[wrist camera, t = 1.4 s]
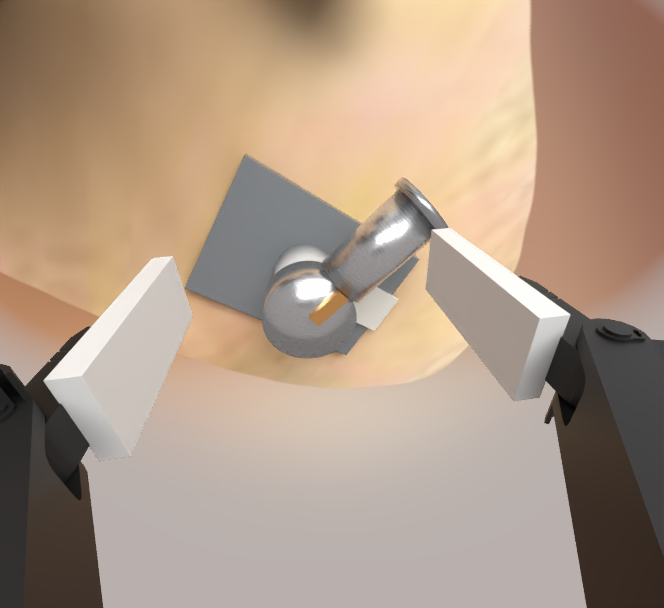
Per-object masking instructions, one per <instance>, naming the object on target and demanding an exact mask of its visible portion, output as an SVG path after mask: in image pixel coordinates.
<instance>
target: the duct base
mask: <svg viewBox="0 0 664 608" xmlns="http://www.w3.org/2000/svg"><path fill="white" fill-rule="evenodd" d="M360 225H361V223H360V222H358V221H356V220H355V219H353V218H351V217H350V216H348V215H346V214H345V213H343V212H341V211H340V210H338V209H336V208H335V207H333V206H331V205H330V204H328V203H326V202H325V201H323V200H321V199H320V198H318V197H316V196H315V195H313V194H311V193H310V192H308V191H306V190H305V189H303V188H301V187H300V186H298V185H296V184H295V183H293V182H291V181H290V180H288V179H286V178H285V177H283V176H281V175H280V174H278V173H276V172H275V171H273V170H271V169H270V168H268V167H266V166H265V165H263V164H261V163H260V162H258V161H256V160H255V159H253V158H251V157H250V156H248V155H245V156H244V158H243V160H242V162H241V165H240V167H239V169H238V171H237V173H236V176H235V178H234V180H233V182H232V185H231V187H230V189H229V191H228V193H227V196H226V198H225V200H224V202H223V205H222V207H221V209H220V211H219V213H218V216H217V218H216V220H215V222H214V225H213V227H212V229H211V231H210V233H209V236H208V238H207V240H206V242H205V245H204V247H203V249H202V251H201V253H200V256H199V258H198V260H197V262H196V265H195V267H194V269H193V271H192V273H191V276H190V278H189V280H188V282H187V285H186V287H185V288H186V289H188V290H191V291H193V292H195V293H198V294H200V295H203V296H205V297H207V298H210V299H212V300H215V301H217V302H219V303H222V304H224V305H227V306H229V307H231V308H234V309H236V310H239V311H241V312H244V313H246V314H248V315H251V316H253V317H256V318H258V319H260V320H263V310H264V301H265V293H266V289H267V286H268V284H269V282H270V280H271V279H272V277H273V276H274V275H275V274H276V273H277V272H278V271H279V270H280V269H282V268H284V267H285V266H287V265H289V264H292V263H295V262H299V261H307V260H308V261H318V262H322V261H323V260H324V259H325V258H326V257H327V256H328V255H329V254H330V253H331V252H332V251H334V250H335V249H336V248H337V247H338V246H339V245H340V244H341V243H342V242H343V241H344V240H345V239H346V238H347V237H348V236H350V235H351V234H352V233H353V232H354V231H355V230H356V229H357V228H358V227H359V226H360ZM418 260H419V259H418V258H417V257H416V256H415V255H413V256H412V257H411V258H410V259H409V260H408V261H406V262H405V263H404V264H403V265H402V266H401V267H399V268H398V269H397V270H396V271H395V272H394V273H392V274H391V275H390V276H389V277H388V278H386V279H385V280H384V281H383V282H382V283H381V284H379V285H378V286H377V287H376V288H375V289H374V290H372V291H371V292H370V293H369V294H368V295H367V296H365V297H364V298H363V299H362V300H361V301H360V302H358V303H356V302H354V301H353V302H354V305H355V308H356V314H357V320H356V326H355V329H354V331H353V333H352V335H351V337H350V338H349V339H348V341H347V342H346V343H345V344H344V345H343V346H342V347H340V348H339V349H338V350H336V351H337V352H340V353H342V354H345V355H347V354H348V352H349V351H350V350H351V348H352V347H353V346H354V344H355V343H356V342H357V340H358V339H359V338H360V337H361V335H362V334H363V333H364V331H365V330H366V329H367V328H369V329H372V330H374V331H375V330H376V328H377V327H378V326H379V324H380V323H381V322H382V321H383V319H384V318H385V317H386V315H387V314H388V313H389V312H390V310H391V309H392V308H393V306H394V305H395V304H396V303H397V301H398V299H397V297H395V296H393V293H394V292H395V291H396V289H397V288H398V287H399V285H400V284H401V283H402V281H403V280H404V279H405V277H406V276H407V275H408V273H409V272H410V271H411V270H412V268H413V267H414V266H415V264H416V263H417V262H418Z"/></svg>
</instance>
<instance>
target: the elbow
mask: <svg viewBox="0 0 664 608" xmlns="http://www.w3.org/2000/svg"><path fill="white" fill-rule="evenodd" d="M394 186H395V188H396V190H397V191H396V192H395V193H394V194H393V195H392V196H391V197H390V198H389V199H388V200H387V201H386V202H385V203H384V204H382V205H381V206H380V207H379V208H378V209H377V210H376V211H375V212H374V213H373V214H372V215H371V216H370V217H369V218H368V219H367V220H365V221H364V222H363V223H362V224H361V225H360V226H359V227H358V228H357V229H356V230H355V231H354V232H353V233H352V234H351V235H350V236H348V237H347V238H346V239H345V240H344V241H343V242H342V243H341V244H340V245H339V246H338V247H337V248H336V249H335V250H334V251H332V252H331V253H330V254H329V255H328V256H327V257H326V258H325V259H324V260H323V261H322V262H318V261H308V260H307V261H299V262H295V263H292V264H289V265H287V266H285V267H284V268H282V269H280V270H279V271H278V272H277V273H276V274H275V275H274V276H273V277H272V279H271V280H270V282H269V284H268V286H267V289H266V293H265V301H264V310H263V328H264V332H265V334H266V336H267V338H268V339H269V341H270V342H271V343H272V344H273V345H274V346H275V347H276V348H277V349H278V350H280V351H282V352H283V353H285V354H288V355H290V356H294V357H298V358H317V357H322V356H325V355H328V354H330V353H332V352H334V351H336V350H338V349H339V348H340V347H342V346H343V345H344V344H345V343H346V342H347V341H348V339H349V338H350V337H351V335H352V333H353V331H354V329H355V326H356V320H357V314H356V308H355V305H354V302H356V303H358V302H360V301H361V300H362V299H363V298H364V297H365V296H367V295H368V294H369V293H370V292H371V291H372V290H374V289H375V288H376V287H377V286H378V285H379V284H381V283H382V282H383V281H384V280H385V279H386V278H388V277H389V276H390V275H391V274H392V273H394V272H395V271H396V270H397V269H398V268H399V267H401V266H402V265H403V264H404V263H405V262H406V261H408V260H409V259H410V258H411V257H412V256H413V255H415V254H416V253H417V252H418V251H419V250H420V249H422V248H423V247H424V246H425V245H426V244H427V243H429V242H430V241H431V231H432V230H434V229H444V228H448V226H447V224H446V223H445V221H444V220H443V218H442V217H441V216H440V214H439V213H438V212H437V211H436V209H435V208H434V207H433V206H432V205H431V203H430V202H429V201H428V200H427V199H426V198H425V197H424V196H423V194H422V193H421V192H420V191H419V190H418V189H417V188H416V187H415V186H414V185H413V184H411V183H410V182H409V181H408V180H407V179H405V178H401V179H400V180H399V181H398V182H397V183H396V184H395V185H394ZM353 301H354V302H353Z"/></svg>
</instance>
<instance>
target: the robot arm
mask: <svg viewBox="0 0 664 608" xmlns="http://www.w3.org/2000/svg"><path fill="white" fill-rule="evenodd" d="M426 290H427V292H428V293H429V294H430V295H431V297H432V298H433V299H434V300H435V302H436V303H437V304H438V306H439V307H440V308H441V309H442V311H443V312H444V313H445V314H446V316H447V317H448V318H449V320H450V321H451V322H452V323H453V325H454V326H455V327H456V329H457V330H458V331H459V332H460V334H461V335H462V336H463V337H464V339H465V340H466V341H467V343H468V344H469V345H470V346H471V348H472V349H473V350H474V351H475V353H476V354H477V355H478V357H479V358H480V359H481V360H482V362H483V363H484V364H485V365H486V367H487V368H488V369H489V370H490V372H491V373H492V374H493V376H494V377H495V378H496V380H498V382H499V383H500V385H501V386H502V387H503V388H504V390H505V391H506V392H507V394H508V395H509V396H510V397H511V399H512V400H513V401H518V400H526V399H533V398H539V397H540V395H541V393H542V390H543V387H544V385H545V382H546V381H547V382H548V383H549V384H550V385H551V387H552V388H553V389H554V390H555V391H556V392H555V394H554V397H553V400H552V402H551V404H550V407H549V409H548V412H547V414H546V417H545V422H544V423H546V424H549V423H550V420H551V418H552V417H554V418H555V424H556V430H557V435H558V441H559V447H560V453H561V459H562V465H563V470H564V476H565V482H566V488H567V494H568V500H569V506H570V512H571V517H572V523H573V529H574V535H575V541H576V546H577V552H578V558H579V564H580V570H581V576H582V582H583V588H584V594H585V599H586V605H587V608H664V340H651V339H650V338H649V337H648V336H647V335H646V334H645V333H644V332H642V331H641V330H639V329H637V328H635V327H633V326H631V325H628V324H626V323H623V322H619V321H615V320H610V319H589V318H587V317H586V316H585V315H583V314H582V313H580V312H579V311H578V310H576V309H575V308H573V307H572V306H570V305H569V304H567V303H566V302H564V301H563V300H561V299H558V297H557V296H556V295H554V294H553V293H551V292H548V290H547V289H545V288H544V287H542V286H541V285H539V284H538V283H537V282H534V281H532V280H529V279H527V278H524V277H522V276H516V275H515V274H513V273H512V272H511V271H509V270H508V269H506V268H505V267H504V266H502V265H501V264H499V263H498V262H497V261H495V260H494V259H492V258H491V257H490V256H488V255H487V254H485V253H484V252H483V251H481V250H480V249H478V248H477V247H476V246H474V245H473V244H472V243H470V242H469V241H467V240H466V239H465V238H463V237H462V236H460V235H459V234H458V233H456V232H455V231H453V230H452V229H451V228H444V229H434V230H432V231H431V241H430V251H429V262H428V272H427V282H426ZM192 317H193V315H192V312H191V309H190V306H189V303H188V300H187V297H186V294H185V291H184V288H183V285H182V282H181V279H180V276H179V273H178V270H177V267H176V264H175V261H174V258H173V256H168V257H158V258H152V259H151V260H150V261H149V262H148V264H147V265H146V266H145V267H144V268H143V269H142V270H141V271H140V273H139V274H138V275H137V276H136V277H135V278H134V279H133V280H132V282H131V283H130V284H129V285H128V286H127V287H126V288H125V289H124V291H123V292H122V293H121V294H120V295H119V296H118V297H117V298H116V300H115V301H114V302H113V303H112V304H111V305H110V306H109V307H108V309H107V310H106V311H105V312H104V313H103V314H102V315H101V316H100V318H99V319H98V320H97V321H96V322H95V323H94V324H93V325H92V326H91V327H86V328H85V329H83V330H82V331H80V332H79V333H77V334H76V335H74V336H73V337H71V338H70V339H69V340H68V341H67V342H66V343H65V344H64V345H63V347H62V348H61V349H60V352H57V353H56V354H55V355H54V356H53V357H52V358H51V359H50V360H51V362H48V363H47V364H46V365H45V366H44V367H43V368H42V369H41V370H40V371H39V372H38V373H37V374H36V375H35V376H34V378H33V379H32V380H31V381H30V382H29V383H28V384H27V385H26V386H24V385H23V383H22V382H21V381H20V379H19V378H18V377H17V375H16V374H15V373H14V371H13V370H12V369H11V367H10V366H7V365H3V364H0V608H103V603H102V594H101V585H100V577H99V568H98V560H97V551H96V543H95V534H94V525H93V517H92V508H91V499H90V492H89V482H88V474H87V471H86V469H85V467H84V465H83V464H82V462H81V459H82V457H83V456H84V454H85V452H86V451H87V449H88V447H90V449H91V450H92V451H93V453H94V454H95V456H96V457H97V459H98V460H99V461H104V460H111V459H118V458H125V457H131V455H132V453H133V450H134V448H135V446H136V444H137V441H138V439H139V437H140V435H141V432H142V430H143V428H144V426H145V423H146V421H147V419H148V417H149V414H150V412H151V410H152V408H153V405H154V403H155V401H156V398H157V396H158V394H159V392H160V390H161V387H162V385H163V383H164V380H165V378H166V376H167V374H168V371H169V369H170V367H171V364H172V362H173V360H174V358H175V355H176V353H177V351H178V349H179V347H180V344H181V342H182V340H183V338H184V335H185V333H186V331H187V329H188V326H189V324H190V322H191V320H192Z"/></svg>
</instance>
